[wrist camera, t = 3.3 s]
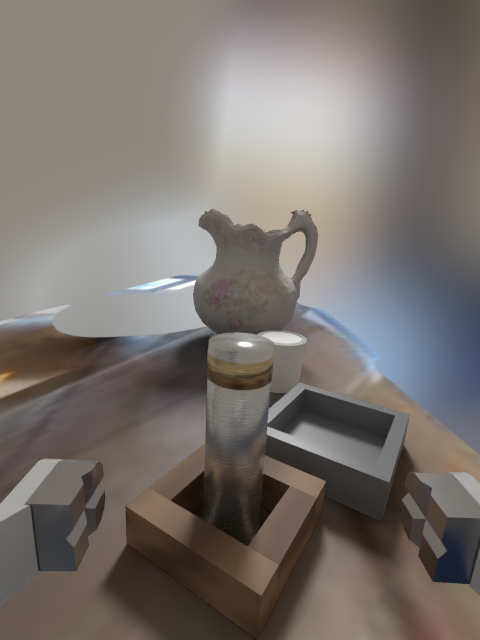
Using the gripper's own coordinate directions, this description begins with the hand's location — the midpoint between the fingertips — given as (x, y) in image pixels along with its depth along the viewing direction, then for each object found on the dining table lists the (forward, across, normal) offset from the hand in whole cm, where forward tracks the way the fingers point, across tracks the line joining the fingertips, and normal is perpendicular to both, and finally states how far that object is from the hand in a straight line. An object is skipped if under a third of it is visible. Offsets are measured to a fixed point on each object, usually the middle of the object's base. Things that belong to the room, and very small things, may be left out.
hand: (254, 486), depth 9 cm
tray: (+22, -9, +14) cm, 27 cm away
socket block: (+12, 0, +14) cm, 19 cm away
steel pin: (+12, 0, +14) cm, 19 cm away
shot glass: (+37, -6, +14) cm, 40 cm away
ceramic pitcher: (+56, -2, +14) cm, 57 cm away
